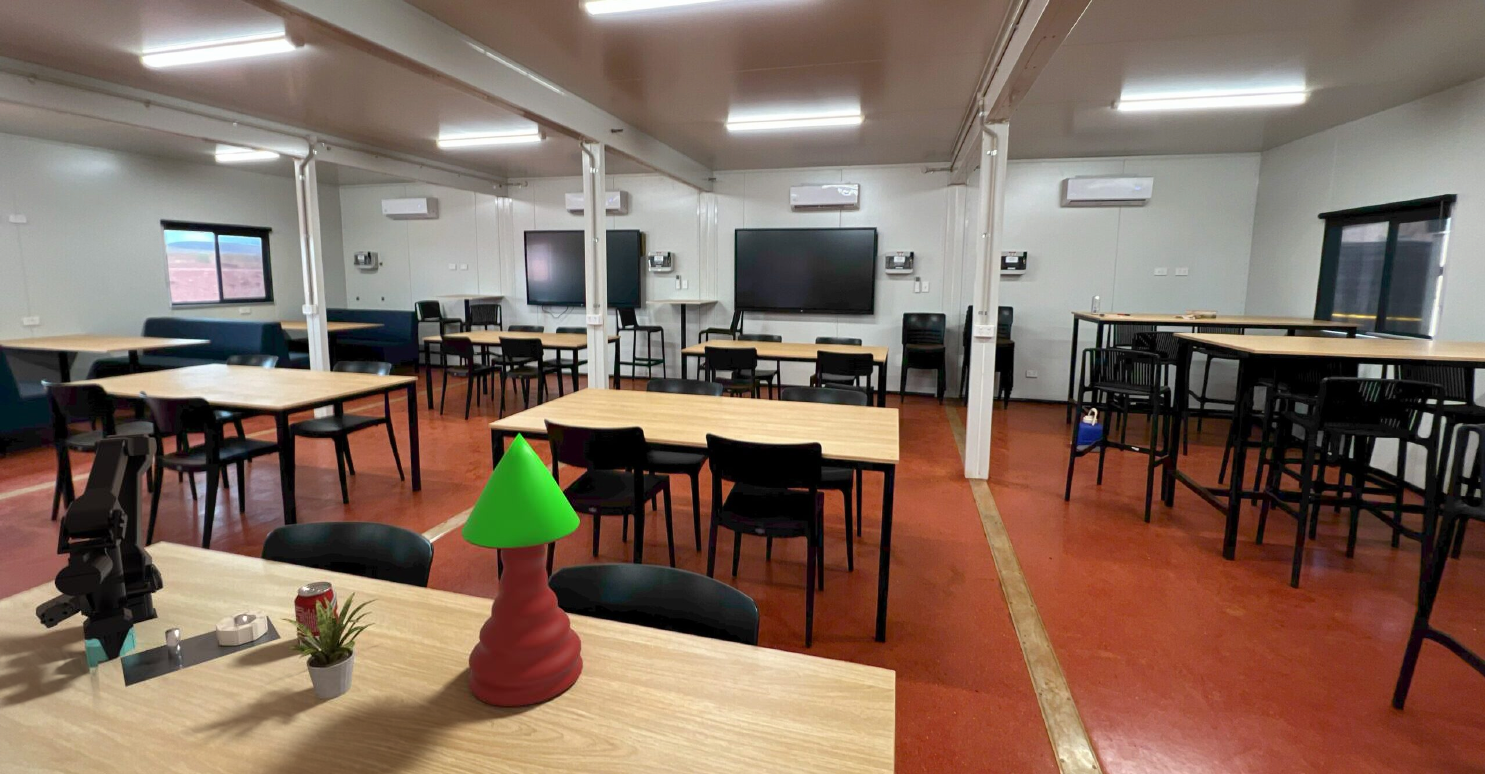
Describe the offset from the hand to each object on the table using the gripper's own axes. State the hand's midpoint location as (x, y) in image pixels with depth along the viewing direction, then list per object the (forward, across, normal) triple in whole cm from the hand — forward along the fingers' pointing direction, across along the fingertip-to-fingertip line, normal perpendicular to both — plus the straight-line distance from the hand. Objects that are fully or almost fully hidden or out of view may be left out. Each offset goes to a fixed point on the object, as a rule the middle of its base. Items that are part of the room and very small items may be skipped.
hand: (112, 651), depth 121 cm
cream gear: (0, +10, +18) cm, 21 cm away
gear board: (+1, +10, +12) cm, 16 cm away
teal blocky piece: (+1, 0, 0) cm, 1 cm away
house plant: (+1, +40, +27) cm, 48 cm away
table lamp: (+1, +58, +52) cm, 78 cm away
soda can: (+1, +22, +28) cm, 36 cm away
